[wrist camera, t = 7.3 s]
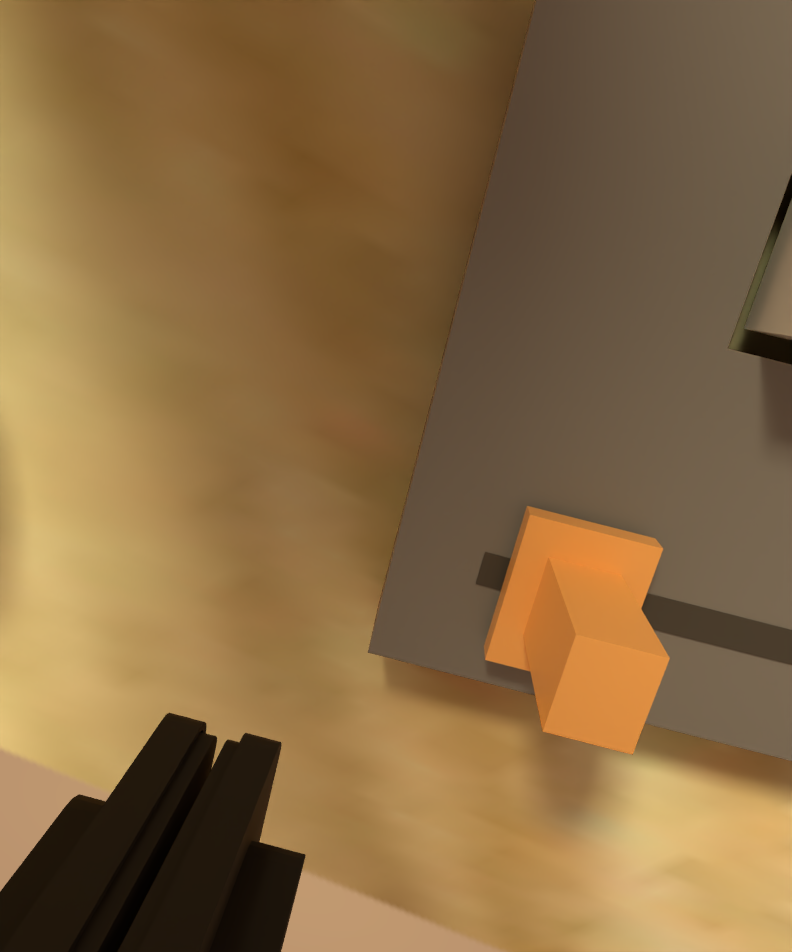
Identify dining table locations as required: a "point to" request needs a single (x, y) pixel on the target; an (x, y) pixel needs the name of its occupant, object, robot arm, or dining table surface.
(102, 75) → the dining table surface
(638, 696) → the orange slider handle
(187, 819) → the robot arm
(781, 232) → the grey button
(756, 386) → the switch panel
